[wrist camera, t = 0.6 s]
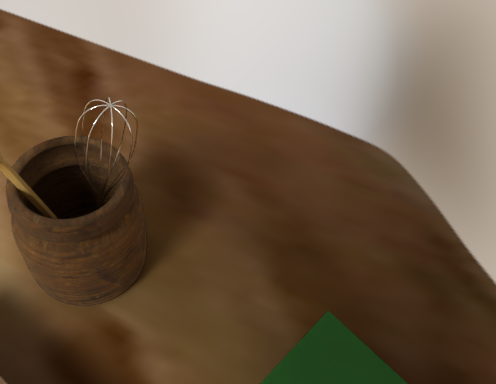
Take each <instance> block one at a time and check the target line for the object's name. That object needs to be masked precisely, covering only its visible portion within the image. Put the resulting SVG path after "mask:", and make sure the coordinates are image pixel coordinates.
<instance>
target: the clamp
mask: <svg viewBox="0 0 496 384" xmlns="http://www.w3.org/2000/svg"><path fill="white" fill-rule="evenodd" d="M261 384H407V383H406V382H405V381H404V380H403V379H402V378H401V377H400V376H399V375H398V374H397V373H396V372H395V371H393V370H392V369H391V368H390V367H389V366H388V365H387V364H386V363H385V362H384V361H383V360H382V359H380V358H379V357H378V356H377V355H376V354H375V353H374V352H373V351H372V350H371V349H370V348H369V347H367V346H366V345H365V344H364V343H363V342H362V341H361V340H360V339H359V338H358V337H357V336H356V335H354V334H353V333H352V332H351V331H350V330H349V329H348V328H347V327H346V326H345V325H344V324H343V323H342V322H340V321H339V320H338V319H337V318H336V317H335V316H334V315H333V314H332V313H331V312H330V311H329V310H328V311H327V312H326V313H325V315H324V316H323V317H322V318H321V319H320V320H319V321H318V322H317V323H316V324H315V325H314V326H313V328H312V329H311V330H310V331H309V332H308V333H307V334H306V335H305V336H304V337H303V338H302V339H301V340H300V342H299V343H298V344H297V345H296V346H295V347H294V348H293V349H292V350H291V351H290V352H289V353H288V354H287V356H286V357H285V358H284V359H283V360H282V361H281V362H280V363H279V364H278V365H277V366H276V367H275V368H274V370H273V371H272V372H271V373H270V374H269V375H268V376H267V377H266V378H265V379H264V380H263V381H262V383H261Z"/></svg>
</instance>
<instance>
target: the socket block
mask: <svg viewBox="0 0 496 384" xmlns="http://www.w3.org/2000/svg"><path fill="white" fill-rule="evenodd" d="M0 384H8V382H7V381H6V380H5V379H4V378H3V377H2V376H1V375H0Z"/></svg>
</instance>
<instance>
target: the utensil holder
mask: <svg viewBox="0 0 496 384" xmlns="http://www.w3.org/2000/svg"><path fill="white" fill-rule="evenodd" d="M107 99H109V103H110V104H109V103H107ZM93 101H101V102H104V103H105V105H99V106H95V107H92V108H90V109H89V110H91V109H93V108H96V107H100V106H105V107H104V110H103V111H102V112H101V114H100V115H99V116H98V118H99V117H100V116H101V115H102V113H103V112H104V115H103V124H102V136H101V140H99V139H96V138H92V137H90V134H91V132H92V129H93V127H94V125H95V123H96V121H97V120H98V118H97V119H96V121H95V122H94V124H93V126H92V128H91V131H90V133H89V136H88V137H86V136H83V128H84V118H85V113H86V112H88V111H89V110H87V111H86V108H87V106H88V104H89V103H91V102H93ZM117 102H123V101H116V102H114V103H112V104H111V101H110V98H109V97H107V98H106V101H102V100H92V101H90V102H89V103H88V104H87V105H86V107H85V110H84V113H83V114H82V115H81V117H80V118H79V120H78V122H77V126H76V134H75V136H64V137H58V138H54V139H50V140H47V141H45V142H42V143H40V144H38V145H36V146H34V147H33V148H31V149H29V150H28V151H27V152H25V153H24V154H23V155H22V156H21V157H20V158H19V159H18V160H17V161H16V162H15V164H14V165H13V167H11V166H10V165H9V164H8V163H7V162H6V161H5V160H4V158H3V157H2V156H1V155H0V170H1V171H2V172H3V173H4V174H5V175H6V177H7V182H6V195H7V202H8V207H9V210H10V213H11V225H12V231H13V235H14V238H15V241H16V243H17V246H18V248H19V250H20V252H21V254H22V256H23V258H24V260H25V262H26V264H27V266H28V268H29V270H30V272H31V273H32V275H33V277H34V278H35V280H36V281H37V283H38V284H39V285H40V287H41V288H42V289H43V290H44V291H45V292H46V293H48V294H49V295H50V296H52V297H53V298H55V299H57V300H59V301H61V302H64V303H67V304H72V305H80V306H87V305H95V304H100V303H103V302H106V301H109V300H111V299H113V298H115V297H117V296H119V295H120V294H122V293H123V292H125V291H126V290H127V289H128V288H129V287H130V286H131V285H132V284H133V283H134V282H135V280H136V279H137V278H138V276H139V274H140V273H141V271H142V268H143V266H144V263H145V259H146V252H147V237H146V225H145V216H144V209H143V204H142V200H141V197H140V194H139V192H138V190H137V188H136V186H135V184H134V180H133V176H132V173H131V171H130V168H129V162H130V160H131V158H132V156H133V153H134V150H135V146H136V141H137V133H138V121H137V119H136V117H135V115H134V114H133V113H132V112H131V111H130V110H128V109H127V106H126V104H125V102H123V103H124V104H125V107H126V108H125V107H122V106H118V105H113V104H115V103H117ZM106 104H108V105H106ZM106 106H108V107H107V108H109V107H110V109H111V123H112V135H111V145H110V144H108V143H106V142H104V141H102V137H103V126H104V116H105V110H106V109H107V108H106ZM113 106H117V107H121V108H124V109H126V117H124V116H123V115H122V114H121V113H120V112H119V111H118V110H117V109H116V108H115V107H113ZM112 107H113V108H114V109H115V110H117V111H118V112H119V113H120V114H121V116H122V117H123V118H124V120H125V125H124V132H125V126H126V123H127V125H128V127H129V130H130V134H131V148H130V156H129V161H128V163H127V162H126V160H125V158H124V157H123V156H122V154H121V153H120V152H119V151H120V148H121V145H122V141H123V137H124V132H123V137H122V141H121V144H120V148H119V151H118V150H117V149H116V148H114V147H113V146H112V141H113V117H112ZM105 108H106V109H105ZM127 110H128V111H129V112H131V113H132V114H133V116H134V117H135V119H136V122H137V132H136V140H135V146H134V150H133V153H132V155H131V150H132V133H131V129H130V126H129V124H128V122H127V120H126V118H127ZM85 111H86V112H85ZM83 115H84V116H83ZM82 116H83V126H82V136H77V128H78V123H79V121H80V119H81V118H82Z"/></svg>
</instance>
